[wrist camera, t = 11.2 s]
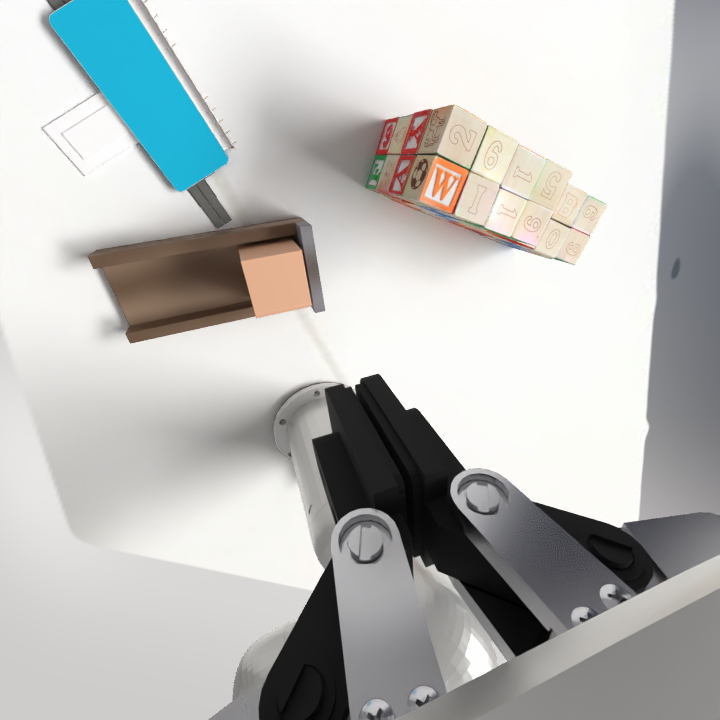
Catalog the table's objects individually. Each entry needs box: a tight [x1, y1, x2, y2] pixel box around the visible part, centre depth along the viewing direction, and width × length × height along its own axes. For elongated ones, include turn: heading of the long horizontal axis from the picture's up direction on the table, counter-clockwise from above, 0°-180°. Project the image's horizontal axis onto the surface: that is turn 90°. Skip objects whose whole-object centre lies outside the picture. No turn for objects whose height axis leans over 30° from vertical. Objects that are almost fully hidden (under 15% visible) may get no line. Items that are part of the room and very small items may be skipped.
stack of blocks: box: [366, 105, 607, 265], centre depth 34 cm, size 21×6×12 cm, turn 70°
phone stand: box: [43, 0, 236, 229], centre depth 27 cm, size 20×12×2 cm, turn 28°
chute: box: [88, 217, 325, 343], centre depth 33 cm, size 8×18×5 cm, turn 96°
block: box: [238, 237, 312, 318], centre depth 33 cm, size 5×5×6 cm
